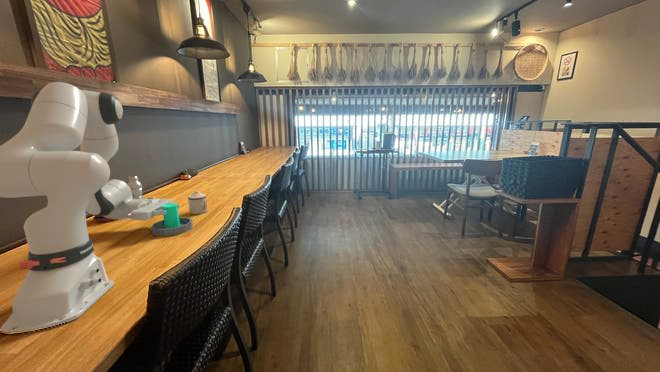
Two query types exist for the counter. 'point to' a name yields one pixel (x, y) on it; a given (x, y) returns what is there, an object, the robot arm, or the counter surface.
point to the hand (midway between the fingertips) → (172, 209)
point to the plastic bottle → (135, 187)
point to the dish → (160, 230)
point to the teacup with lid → (197, 203)
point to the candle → (171, 216)
